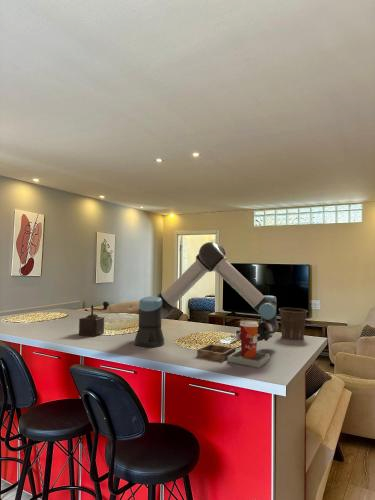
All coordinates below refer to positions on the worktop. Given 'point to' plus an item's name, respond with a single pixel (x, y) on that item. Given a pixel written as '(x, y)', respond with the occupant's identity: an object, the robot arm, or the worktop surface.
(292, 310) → the plant pot
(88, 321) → the pepper mill
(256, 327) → the coffee cup
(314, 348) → the worktop surface
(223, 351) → the walnut tray
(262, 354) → the green square tray
